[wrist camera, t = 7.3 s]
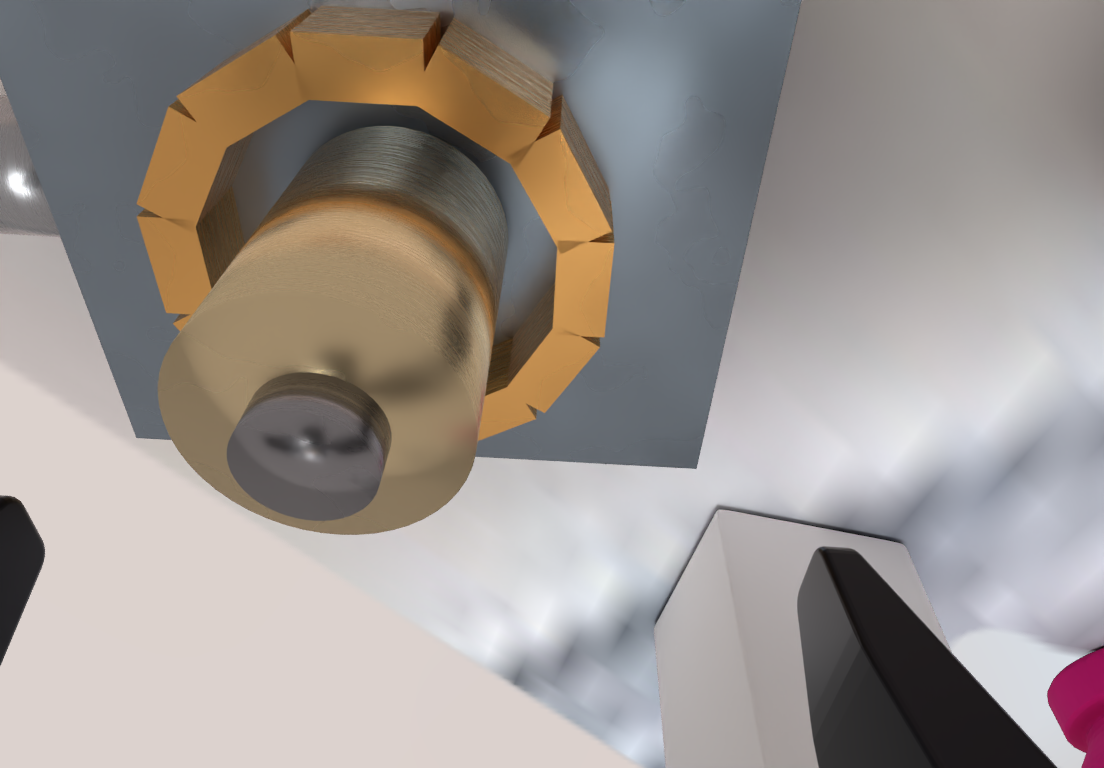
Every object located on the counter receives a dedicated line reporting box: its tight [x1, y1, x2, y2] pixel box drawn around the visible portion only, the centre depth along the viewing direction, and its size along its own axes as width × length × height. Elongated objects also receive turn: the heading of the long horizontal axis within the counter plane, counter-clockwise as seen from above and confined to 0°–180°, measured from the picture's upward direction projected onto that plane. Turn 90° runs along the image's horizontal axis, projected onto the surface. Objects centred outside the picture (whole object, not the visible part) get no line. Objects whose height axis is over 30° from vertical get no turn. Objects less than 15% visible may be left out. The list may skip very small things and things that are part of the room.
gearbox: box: [0, 0, 801, 469], centre depth 17 cm, size 17×12×6 cm
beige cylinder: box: [158, 126, 508, 535], centre depth 13 cm, size 4×4×7 cm
